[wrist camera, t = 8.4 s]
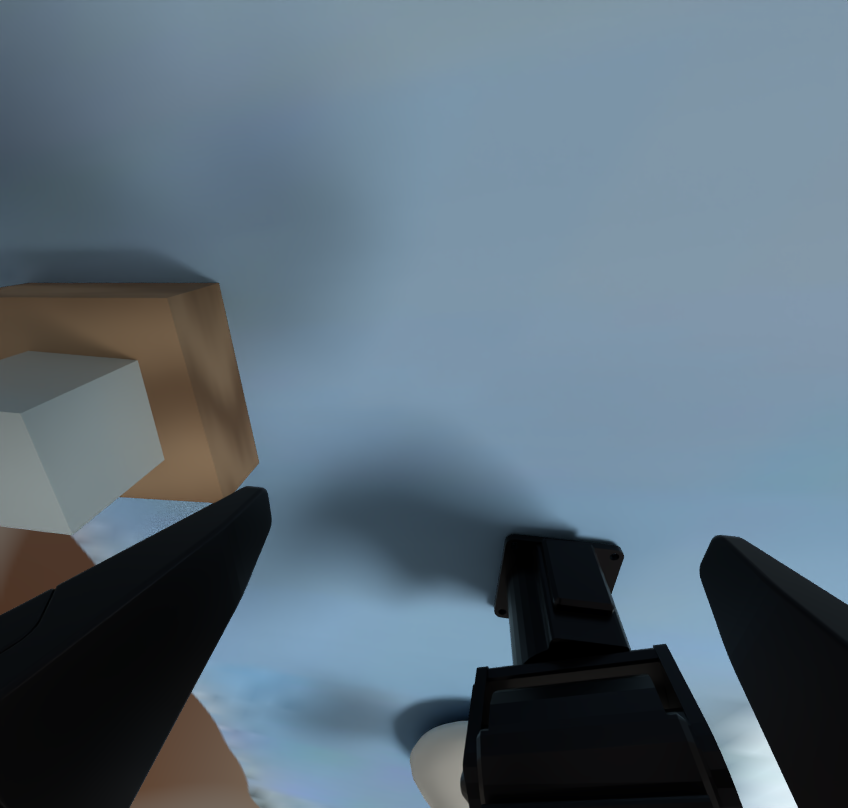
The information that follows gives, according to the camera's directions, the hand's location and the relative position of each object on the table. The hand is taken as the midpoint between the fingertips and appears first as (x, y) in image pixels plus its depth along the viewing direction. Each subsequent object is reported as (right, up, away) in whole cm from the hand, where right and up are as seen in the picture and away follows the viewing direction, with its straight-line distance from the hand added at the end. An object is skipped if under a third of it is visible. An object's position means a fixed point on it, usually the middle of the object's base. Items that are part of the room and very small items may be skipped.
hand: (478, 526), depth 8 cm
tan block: (-16, +4, +14) cm, 21 cm away
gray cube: (-16, +2, +10) cm, 19 cm away
